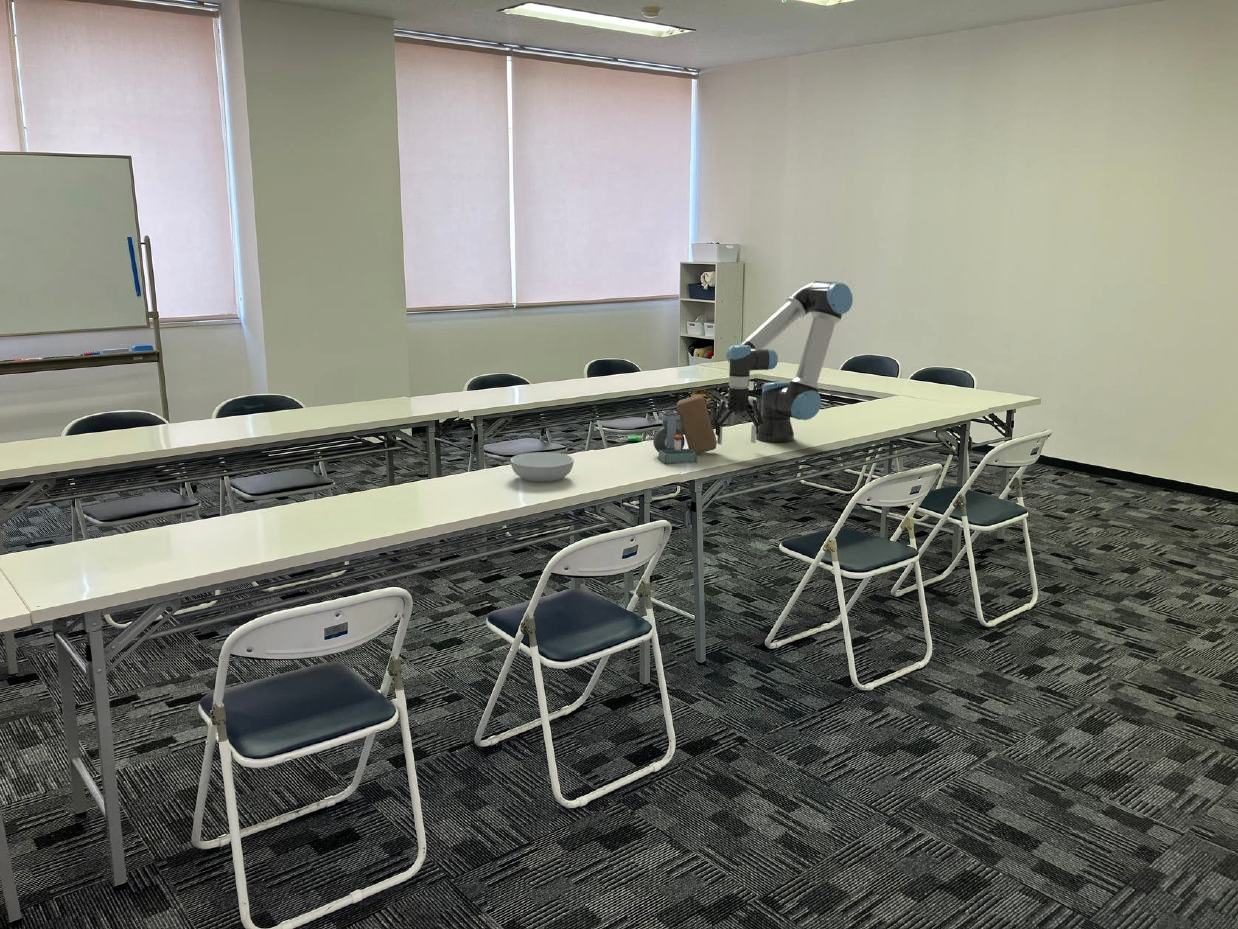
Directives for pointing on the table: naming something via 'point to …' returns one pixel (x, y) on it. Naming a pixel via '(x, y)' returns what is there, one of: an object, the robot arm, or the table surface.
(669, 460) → the tray
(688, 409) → the wooden block
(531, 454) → the serving bowl
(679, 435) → the stop pin
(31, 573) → the table surface
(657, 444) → the wheel stand
